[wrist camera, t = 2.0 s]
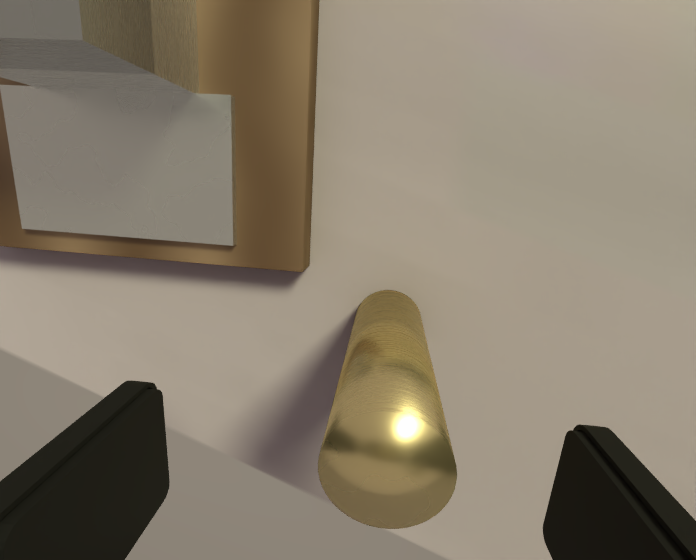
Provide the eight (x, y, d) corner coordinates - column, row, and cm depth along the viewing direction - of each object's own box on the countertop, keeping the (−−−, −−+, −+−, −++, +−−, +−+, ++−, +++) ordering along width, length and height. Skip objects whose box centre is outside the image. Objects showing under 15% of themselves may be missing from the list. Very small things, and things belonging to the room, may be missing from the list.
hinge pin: (424, 293, 18) (466, 420, 8) (417, 354, 19) (447, 538, 9) (357, 287, 18) (320, 403, 8) (353, 348, 19) (315, 518, 9)
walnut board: (331, -336, 13) (324, -402, 11) (309, 265, 18) (302, 272, 17) (-86, -311, 14) (-140, -367, 13) (6, 239, 19) (-24, 243, 18)
